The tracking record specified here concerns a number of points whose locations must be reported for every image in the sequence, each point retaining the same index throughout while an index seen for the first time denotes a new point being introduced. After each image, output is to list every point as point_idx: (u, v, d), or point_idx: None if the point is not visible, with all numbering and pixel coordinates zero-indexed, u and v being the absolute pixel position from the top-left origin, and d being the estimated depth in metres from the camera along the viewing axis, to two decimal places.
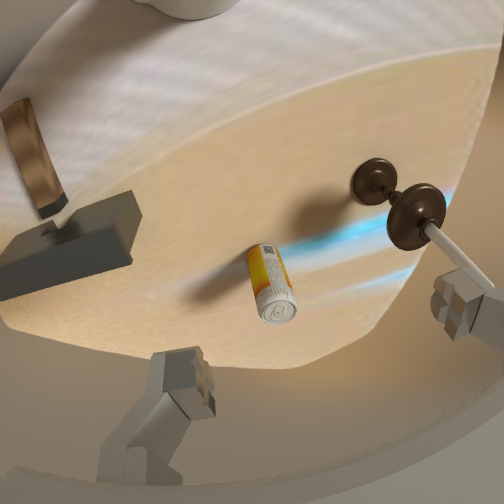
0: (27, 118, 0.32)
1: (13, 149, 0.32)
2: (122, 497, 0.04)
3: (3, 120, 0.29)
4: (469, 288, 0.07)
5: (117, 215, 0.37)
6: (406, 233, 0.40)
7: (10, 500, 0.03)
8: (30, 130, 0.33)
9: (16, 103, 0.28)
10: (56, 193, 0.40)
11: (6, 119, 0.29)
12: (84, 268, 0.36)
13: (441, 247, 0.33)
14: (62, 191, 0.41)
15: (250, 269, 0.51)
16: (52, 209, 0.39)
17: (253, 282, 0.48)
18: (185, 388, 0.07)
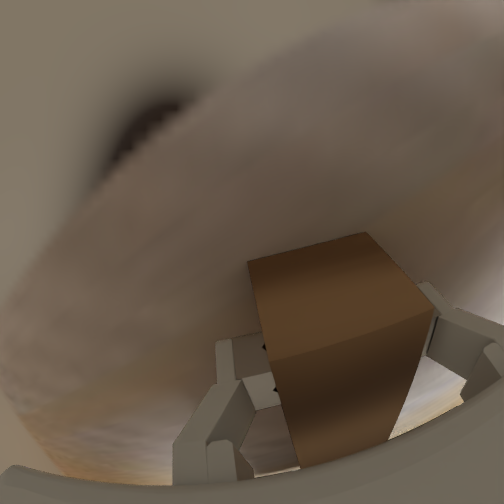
0: None
1: (305, 457, 0.09)
2: (122, 497, 0.04)
3: (292, 393, 0.07)
4: None
5: None
6: None
7: (10, 500, 0.03)
8: None
9: (427, 317, 0.06)
10: None
11: (319, 389, 0.07)
12: None
13: None
14: None
15: None
16: None
17: None
18: (261, 374, 0.07)
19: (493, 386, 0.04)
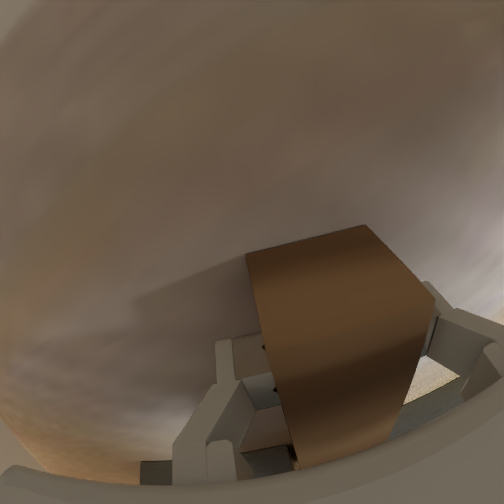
0: None
1: (304, 454, 0.09)
2: (122, 497, 0.04)
3: (291, 387, 0.06)
4: None
5: None
6: None
7: (10, 500, 0.03)
8: None
9: (428, 309, 0.06)
10: None
11: (318, 383, 0.07)
12: None
13: None
14: None
15: None
16: None
17: None
18: (261, 374, 0.07)
19: (493, 386, 0.04)
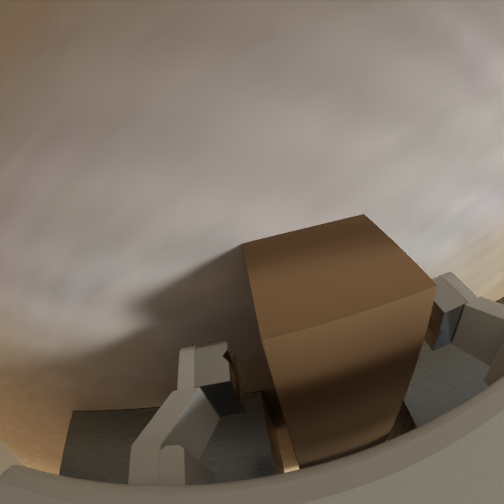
0: None
1: (303, 451, 0.09)
2: (122, 497, 0.04)
3: (287, 378, 0.06)
4: (449, 298, 0.07)
5: None
6: None
7: (10, 500, 0.03)
8: None
9: (430, 296, 0.06)
10: None
11: (316, 374, 0.06)
12: None
13: None
14: None
15: None
16: None
17: None
18: (219, 382, 0.07)
19: (493, 386, 0.04)
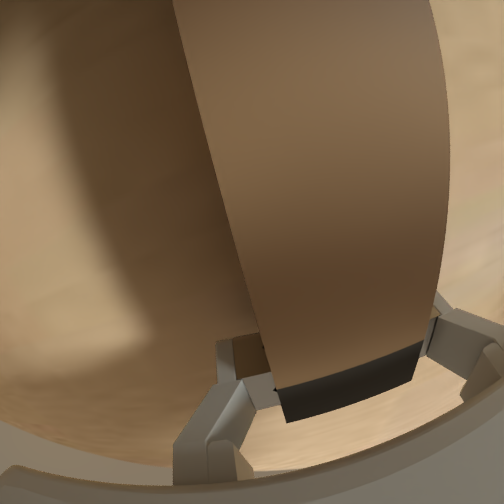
0: None
1: None
2: (122, 497, 0.04)
3: None
4: None
5: None
6: None
7: (10, 500, 0.03)
8: None
9: None
10: None
11: None
12: None
13: None
14: None
15: None
16: (381, 379, 0.07)
17: None
18: (262, 374, 0.07)
19: (493, 386, 0.04)
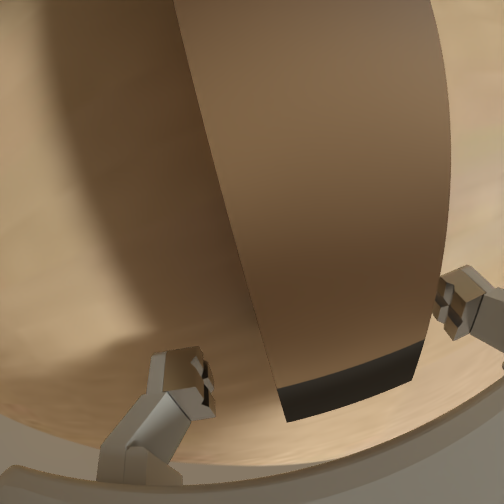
0: None
1: None
2: (122, 497, 0.04)
3: None
4: (469, 288, 0.07)
5: None
6: None
7: (10, 500, 0.03)
8: None
9: None
10: None
11: None
12: None
13: None
14: None
15: None
16: (382, 378, 0.07)
17: None
18: (185, 388, 0.07)
19: (493, 386, 0.04)
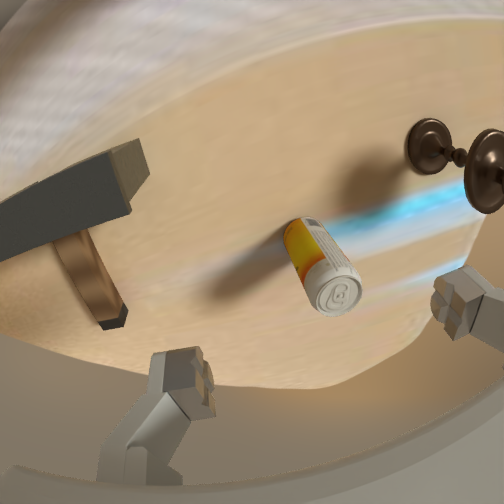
0: None
1: (65, 262, 0.36)
2: (122, 497, 0.04)
3: None
4: (469, 288, 0.07)
5: (116, 150, 0.26)
6: (482, 190, 0.27)
7: (10, 500, 0.03)
8: (83, 244, 0.36)
9: None
10: (117, 307, 0.42)
11: None
12: (62, 222, 0.24)
13: None
14: (122, 302, 0.44)
15: (291, 246, 0.38)
16: (115, 324, 0.42)
17: (298, 260, 0.35)
18: (185, 388, 0.07)
19: (493, 386, 0.04)
